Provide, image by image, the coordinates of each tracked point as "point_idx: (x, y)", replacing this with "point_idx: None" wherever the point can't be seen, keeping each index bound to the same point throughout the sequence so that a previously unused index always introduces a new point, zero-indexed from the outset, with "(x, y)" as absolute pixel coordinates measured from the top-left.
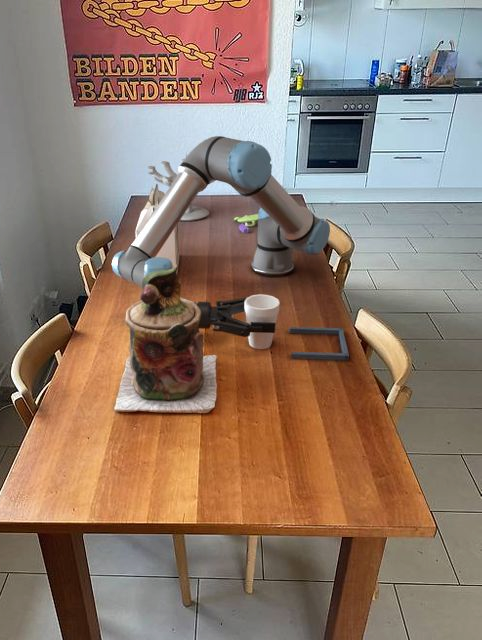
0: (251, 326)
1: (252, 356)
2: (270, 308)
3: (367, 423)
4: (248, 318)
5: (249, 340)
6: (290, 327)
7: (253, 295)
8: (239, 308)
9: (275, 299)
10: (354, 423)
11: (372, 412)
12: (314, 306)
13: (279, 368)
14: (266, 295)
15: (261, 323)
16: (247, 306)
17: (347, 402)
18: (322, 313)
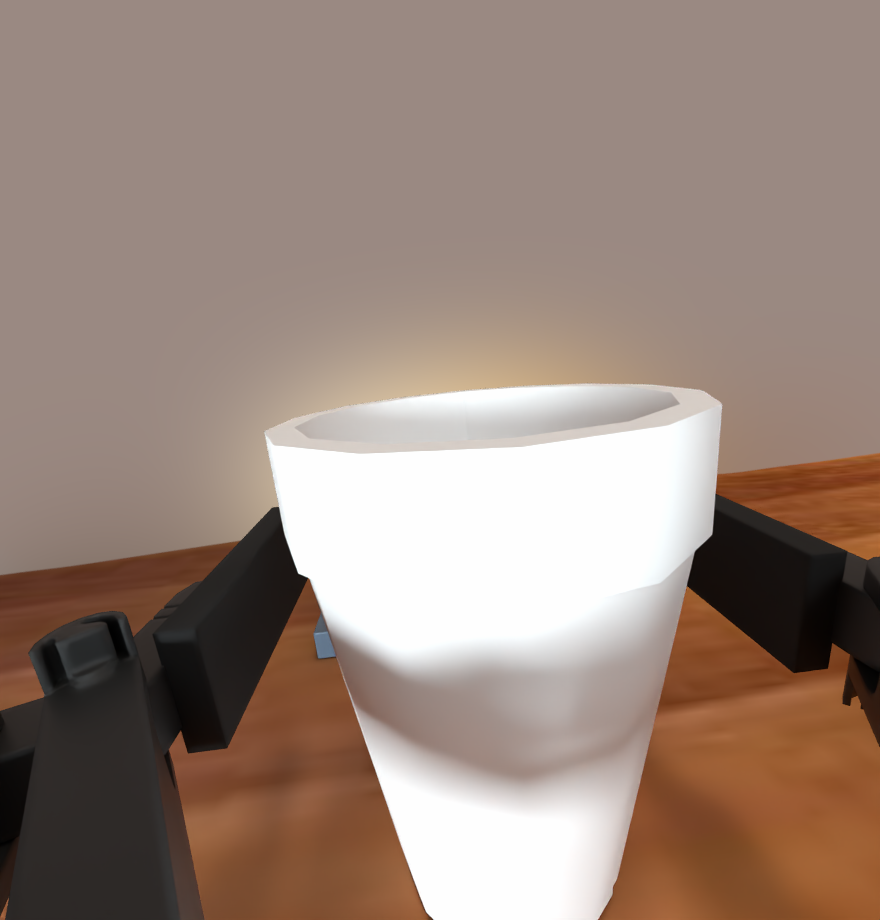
0: (856, 571)
1: (782, 867)
2: (597, 384)
3: (814, 479)
4: (657, 633)
5: (596, 900)
6: (320, 630)
7: (279, 440)
8: (189, 908)
9: (403, 400)
10: (848, 489)
11: (754, 479)
12: (95, 603)
13: (760, 654)
14: (313, 416)
15: (729, 503)
16: (692, 432)
17: (764, 501)
18: (183, 579)
